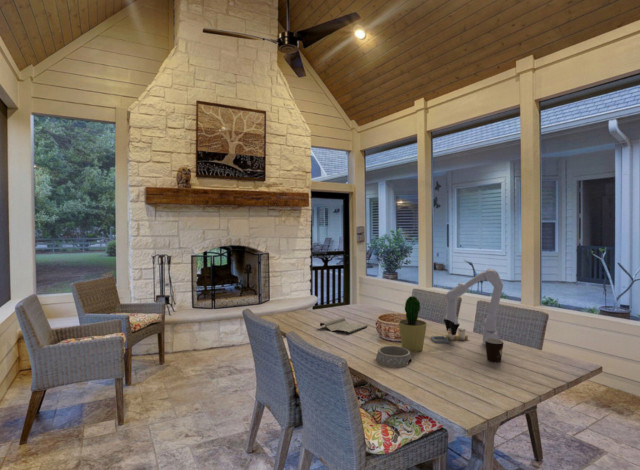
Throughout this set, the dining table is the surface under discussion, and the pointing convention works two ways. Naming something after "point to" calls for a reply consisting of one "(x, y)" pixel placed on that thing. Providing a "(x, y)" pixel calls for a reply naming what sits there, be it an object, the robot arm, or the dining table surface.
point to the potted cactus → (412, 326)
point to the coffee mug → (494, 350)
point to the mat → (342, 325)
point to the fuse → (461, 334)
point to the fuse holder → (458, 338)
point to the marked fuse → (450, 335)
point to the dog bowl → (393, 356)
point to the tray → (439, 340)
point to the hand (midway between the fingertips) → (451, 333)
